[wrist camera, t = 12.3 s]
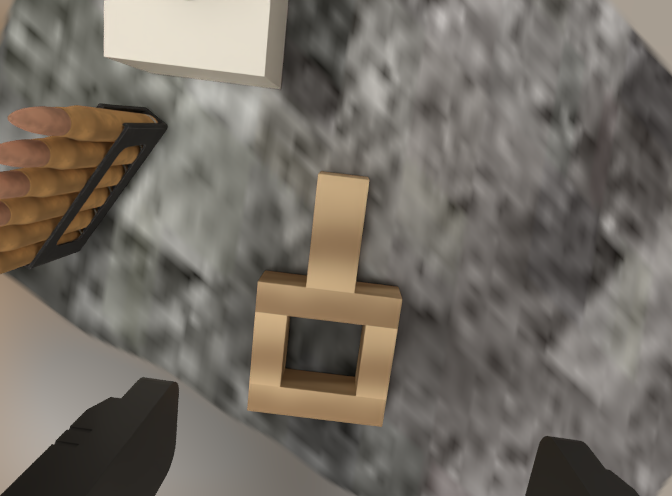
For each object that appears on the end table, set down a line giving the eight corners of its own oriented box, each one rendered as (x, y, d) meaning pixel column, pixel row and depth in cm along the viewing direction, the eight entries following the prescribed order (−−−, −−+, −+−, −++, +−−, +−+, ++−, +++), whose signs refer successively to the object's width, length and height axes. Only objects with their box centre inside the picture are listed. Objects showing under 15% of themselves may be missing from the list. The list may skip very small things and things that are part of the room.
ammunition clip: (145, 106, 28) (0, 80, 17) (169, 126, 28) (43, 114, 17) (55, 234, 30) (-130, 292, 19) (78, 252, 31) (-89, 320, 19)
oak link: (274, 165, 29) (267, 167, 26) (414, 182, 29) (420, 186, 26) (254, 390, 32) (247, 410, 30) (379, 405, 32) (381, 426, 30)
